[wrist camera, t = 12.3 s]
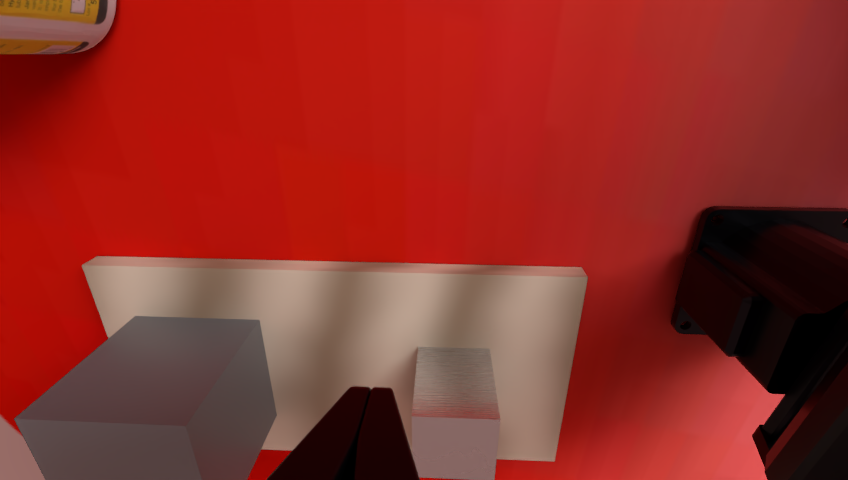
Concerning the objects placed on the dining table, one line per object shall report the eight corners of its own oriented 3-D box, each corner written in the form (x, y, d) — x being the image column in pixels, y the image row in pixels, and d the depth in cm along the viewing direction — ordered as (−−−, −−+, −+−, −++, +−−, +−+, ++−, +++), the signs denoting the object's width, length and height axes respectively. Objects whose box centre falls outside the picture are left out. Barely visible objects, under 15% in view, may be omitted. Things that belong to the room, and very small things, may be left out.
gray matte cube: (259, 319, 21) (185, 426, 15) (276, 415, 24) (219, 538, 18) (135, 316, 21) (13, 419, 15) (165, 410, 24) (72, 530, 18)
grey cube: (489, 348, 21) (500, 419, 17) (485, 403, 23) (494, 480, 19) (418, 346, 21) (411, 416, 17) (418, 400, 23) (412, 477, 19)
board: (581, 267, 20) (588, 277, 19) (550, 446, 25) (554, 461, 24) (97, 256, 21) (81, 265, 20) (157, 430, 26) (147, 444, 25)
